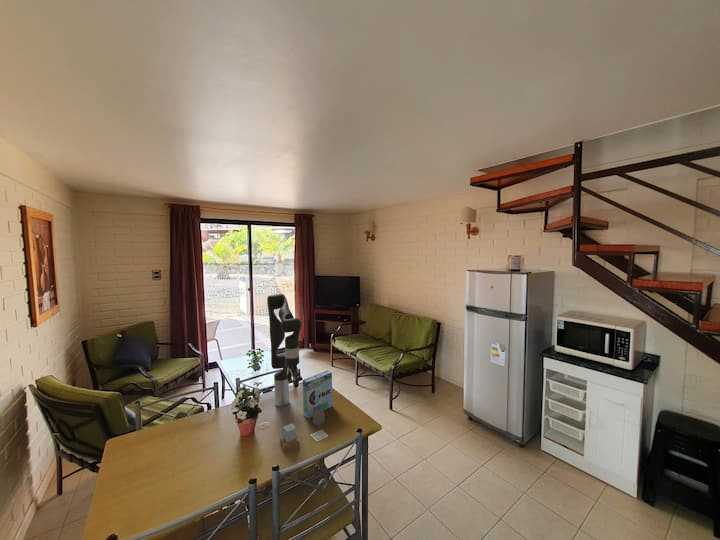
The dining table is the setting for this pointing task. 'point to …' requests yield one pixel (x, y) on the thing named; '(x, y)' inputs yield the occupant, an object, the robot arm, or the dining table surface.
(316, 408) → the gum box
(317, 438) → the swatch
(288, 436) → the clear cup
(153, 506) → the dining table surface
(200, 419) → the dining table surface
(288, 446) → the walnut block
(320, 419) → the translucent grey cup
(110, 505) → the dining table surface
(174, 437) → the dining table surface
